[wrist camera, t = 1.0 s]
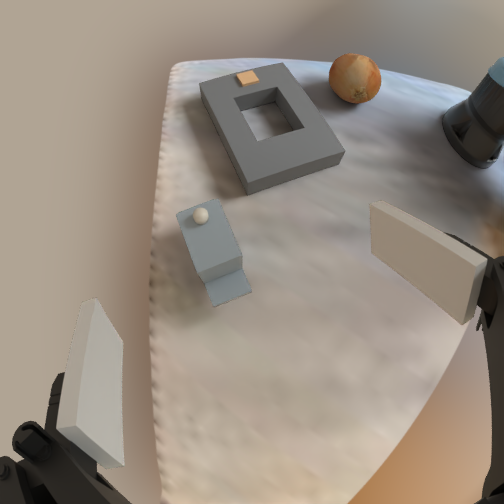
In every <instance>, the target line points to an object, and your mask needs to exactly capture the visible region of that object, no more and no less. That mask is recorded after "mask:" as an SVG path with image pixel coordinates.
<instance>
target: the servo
mask: <svg viewBox="0 0 504 504" xmlns="http://www.w3.org/2000/svg"><path fill="white" fill-rule="evenodd" d="M176 217H177V220H178V222H179V225H180V228H181V231H182V234H183V236H184V239H185V242H186V245H187V247H188V250H189V253H190V255H191V258H192V261H193V263H194V266H195V269H196V271H197V274H198V275H199V277H200V278H201V280H202V281H203V283H204V284H205V287H206V290H207V292H208V295H209V297H210V300H211V302H212V305H213V307H216V306H219V305H221V304H224V303H226V302H229V301H231V300H234V299H236V298H239V297H241V296H244V295H246V294H248V293H251V292H252V290H251V287H250V285H249V282H248V280H247V278H246V275H245V273H244V271H243V268H242V253H241V251H240V249H239V246H238V244H237V241H236V239H235V237H234V234H233V232H232V230H231V227H230V225H229V223H228V220H227V218H226V216H225V213H224V211H223V208H222V206H221V204H220V201H219V199H215V200H214V199H213V200H210V201H207V202H205V203H202V204H199V205H197V206H194V207H192V208H189V209H187V210H184V211H181V212H179V213H178V214H176Z"/></svg>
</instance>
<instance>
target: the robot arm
mask: <svg viewBox="0 0 504 504" xmlns="http://www.w3.org/2000/svg"><path fill="white" fill-rule="evenodd" d="M443 128H444V131H445V134H446V136H447V138H448V140H449V142H450V143H451V145H452V146H453V147H454V149H455V150H456V151H457V152H458V153H459V154H460V155H461V156H462V157H463V158H464V159H465V160H466V161H468V162H469V163H471V164H472V165H474V166H477V167H479V168H488V167H490V166H491V165H492V164H493V163H494V162H496V160H497V159H498V157H499V155H500V153H501V151H502V148H503V146H504V57H501V58H499V59H498V60H497V61H496V63H495V64H494V65H493V66H492V67H490V68H489V70H488V73H487V74H486V76H485V77H484V78H483V80H482V81H481V82H480V84H479V85H478V86H477V87H476V89H475V90H474V91H473V92H472V94H471V95H470V96H469V98H468V99H466V100H464V101H462V102H460V103H458V104H456V105H454V106H453V107H451V108H450V109H449V110H448V111H447V112H446V114H445V115H444V117H443ZM369 205H370V224H371V252H372V254H373V255H375V256H376V257H377V258H379V259H380V260H381V261H383V262H384V263H385V264H387V265H388V266H389V267H391V268H392V269H393V270H394V271H396V272H397V273H398V274H400V275H401V276H402V277H403V278H405V279H406V280H407V281H409V282H410V283H411V284H412V285H414V286H415V287H416V288H417V289H419V290H420V291H421V292H422V293H424V294H425V295H426V296H427V297H428V298H430V299H431V300H432V301H433V302H435V303H436V304H437V305H438V306H439V307H441V308H442V309H443V310H444V311H445V312H447V313H448V314H449V315H450V316H451V317H453V318H454V319H455V320H456V321H457V322H458V323H460V324H461V325H463V324H465V323H466V322H468V321H469V320H470V319H472V318H473V317H474V314H475V310H476V306H477V305H478V306H479V307H480V308H481V309H482V310H481V314H480V317H479V320H478V323H477V326H476V331H478V330H479V327H480V325H481V324H482V331H483V334H484V340H485V346H486V353H487V361H488V370H489V380H490V392H491V408H492V456H491V467H490V470H489V472H488V474H487V476H486V478H485V482H484V486H483V491H482V499H481V500H479V501H478V502H476V503H474V504H504V256H501V257H498V258H496V259H493V258H492V257H490V256H488V255H487V254H485V253H484V252H482V251H480V250H479V249H477V248H475V247H474V246H470V244H469V243H467V242H464V241H463V240H462V239H460V238H458V237H456V236H455V235H451V234H448V233H445V232H441V231H439V230H438V229H436V228H434V227H432V226H430V225H429V224H427V223H425V222H423V221H421V220H419V219H418V218H416V217H414V216H412V215H410V214H408V213H406V212H404V211H402V210H400V209H398V208H396V207H394V206H392V205H390V204H388V203H386V202H384V201H382V200H380V201H377V202H374V203H371V204H369ZM122 360H123V341H122V340H121V338H120V336H119V335H118V333H117V332H116V330H115V328H114V327H113V325H112V323H111V322H110V320H109V318H108V316H107V315H106V313H105V311H104V310H103V308H102V306H101V304H100V302H99V301H98V299H97V297H95V298H92V299H89V300H87V301H84V302H82V304H81V308H80V311H79V315H78V319H77V322H76V326H75V330H74V334H73V338H72V343H71V347H70V352H69V356H68V361H67V365H66V370H65V372H64V373H60V374H58V376H57V377H56V379H55V381H54V383H53V384H52V389H51V394H50V396H51V397H50V399H49V407H48V410H47V416H46V423H45V429H43V428H42V427H41V426H40V425H38V424H37V423H36V422H34V421H28V422H25V423H23V424H22V425H20V426H19V427H18V429H17V430H16V432H15V434H14V436H13V441H12V446H13V450H14V451H15V452H16V453H18V454H19V455H20V456H22V457H23V458H24V459H23V460H21V461H19V462H17V463H16V462H15V461H14V460H12V459H11V458H10V457H7V456H3V457H0V504H131V503H130V502H129V501H128V500H127V499H126V498H125V497H124V496H123V495H122V494H120V493H119V492H118V491H117V490H116V489H115V488H114V487H113V486H112V485H111V484H110V483H109V482H108V481H107V480H106V479H105V478H104V477H103V476H102V475H101V474H99V473H98V472H97V463H98V464H100V465H101V466H103V467H104V468H105V469H110V468H118V467H124V466H125V464H124V449H123V427H122Z"/></svg>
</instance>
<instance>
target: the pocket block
mask: <svg viewBox="0 0 504 504" xmlns="http://www.w3.org/2000/svg"><path fill="white" fill-rule="evenodd" d="M199 85H200V92H201V98H202V101H203V103H204V105H205V107H206V109H207V111H208V113H209V115H210V117H211V119H212V121H213V123H214V125H215V128H216V130H217V132H218V134H219V136H220V138H221V140H222V142H223V144H224V146H225V149H226V151H227V153H228V155H229V157H230V159H231V161H232V163H233V165H234V168H235V170H236V172H237V174H238V176H239V178H240V180H241V182H242V185H243V187H244V189H245V191H246V193H247V195H250V194H253V193H256V192H259V191H262V190H264V189H267V188H270V187H273V186H276V185H278V184H281V183H284V182H287V181H290V180H293V179H296V178H299V177H302V176H305V175H308V174H311V173H314V172H317V171H320V170H323V169H326V168H329V167H332V166H335V165H338V164H339V163H340V161H341V159H342V157H343V155H344V153H345V150H344V148H343V146H342V145H341V143H340V142H339V140H338V139H337V137H336V136H335V134H334V133H333V131H332V130H331V128H330V127H329V125H328V124H327V122H326V121H325V119H324V118H323V116H322V115H321V113H320V112H319V111H318V109H317V108H316V106H315V105H314V103H313V102H312V101H311V99H310V98H309V97H308V95H307V94H306V92H305V91H304V90H303V88H302V87H301V86H300V84H299V83H298V82H297V80H296V79H295V78H294V76H293V75H292V74H291V72H290V71H289V70H288V69H287V67H286V66H285V65H284V64H283V63H278V64H273V65H268V66H263V67H259V68H254V69H250V70H246V71H242V72H238V73H234V74H230V75H226V76H222V77H219V78H215V79H212V80H208V81H205V82H202V83H199ZM272 102H276V103H277V105H278V107H279V108H280V110H281V111H282V113H283V114H284V116H285V117H286V119H287V121H288V122H289V124H290V125H291V127H292V129H293V130H294V131H292V132H288V133H285V134H281V135H278V136H274V137H271V138H268V139H264V140H261V141H258V142H257V140H256V138H255V136H254V134H253V133H252V131H251V129H250V127H249V125H248V123H247V122H246V120H245V118H244V116H243V114H242V113H241V111H243V110H246V109H250V108H254V107H257V106H261V105H265V104H268V103H272Z"/></svg>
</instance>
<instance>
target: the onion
mask: <svg viewBox="0 0 504 504" xmlns="http://www.w3.org/2000/svg"><path fill="white" fill-rule="evenodd" d="M329 84H330V86H331V88H332V89H333V91H334V92H335V93H336V94H337V95H338V96H339V97H340V98H341V99H343V100H345V101H348V102H350V103H356V104H358V103H364V102H367V101H369V100H371V99H372V98H374V96H375V95H376V94H377V93H378V91H379V89H380V86H381V75H380V71H379V69H378V67H377V65H376V64H375V62H374V61H373V60H371V59H370V58H368V57H366V56H363V55H359V54H351V53H350V54H345V55H342V56H341V57H339V58H337V59H336V60H335V61H334V63H333V64H332V66H331V68H330V72H329Z"/></svg>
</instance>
